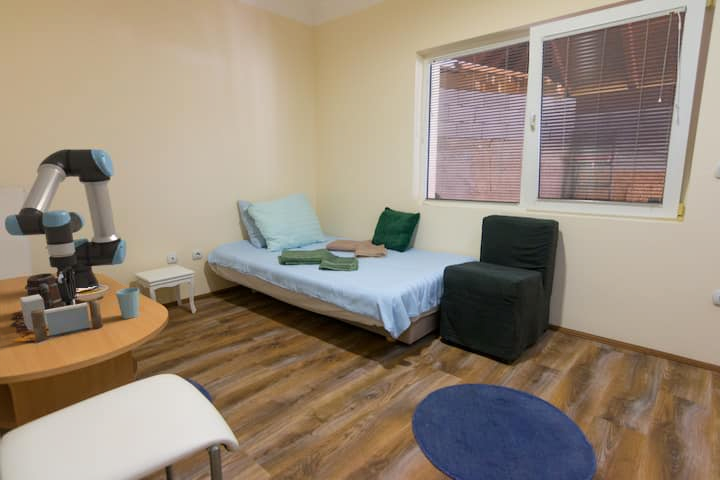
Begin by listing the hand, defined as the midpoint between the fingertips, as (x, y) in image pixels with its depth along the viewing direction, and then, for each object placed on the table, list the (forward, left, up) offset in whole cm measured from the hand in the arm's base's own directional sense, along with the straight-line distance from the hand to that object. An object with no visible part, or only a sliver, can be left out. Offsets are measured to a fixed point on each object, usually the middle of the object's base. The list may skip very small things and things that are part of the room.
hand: (72, 317), depth 142 cm
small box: (-8, -11, -4) cm, 14 cm away
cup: (+3, +18, -3) cm, 19 cm away
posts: (+8, -1, -3) cm, 8 cm away
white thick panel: (+8, -1, -2) cm, 8 cm away
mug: (-20, -8, -4) cm, 22 cm away
